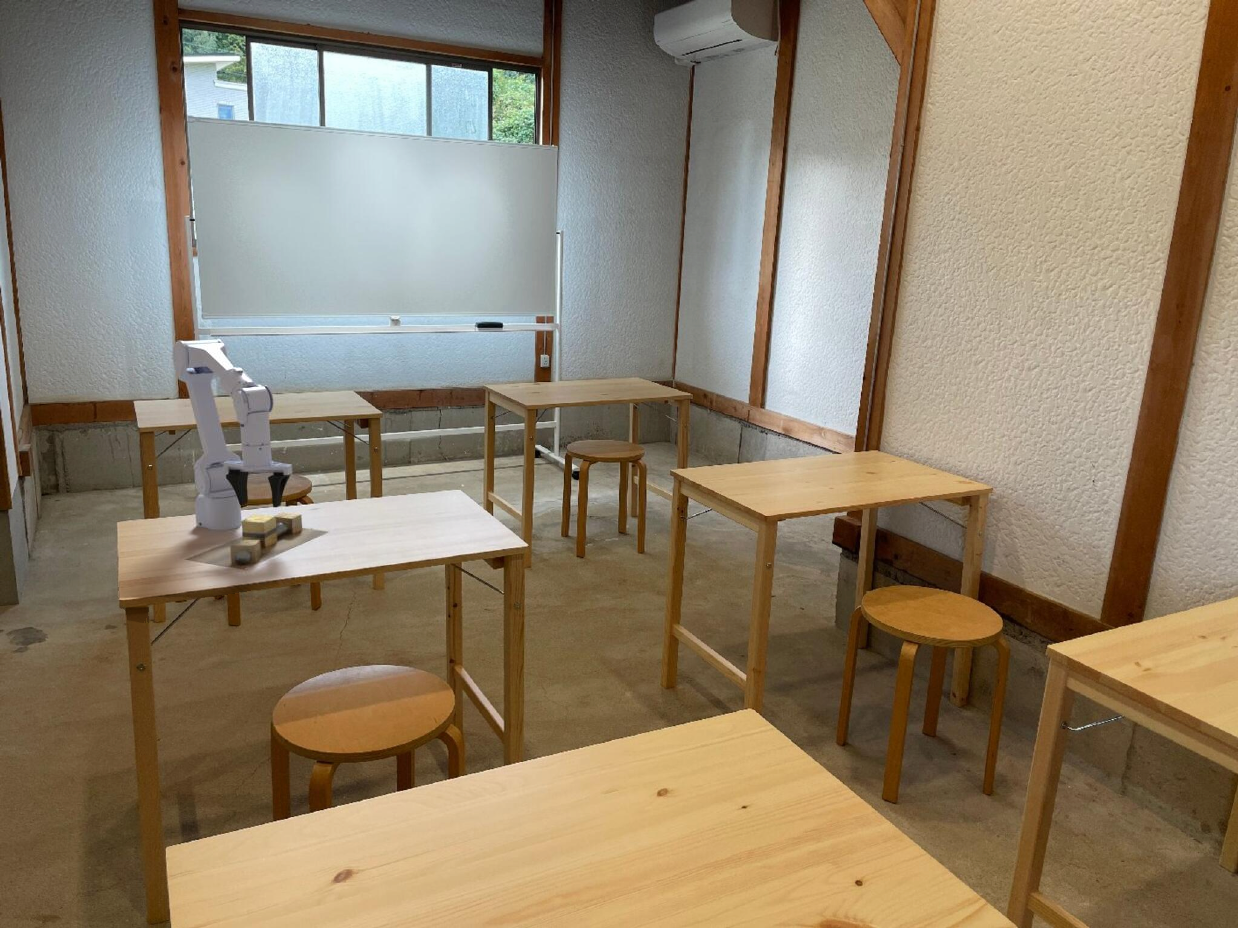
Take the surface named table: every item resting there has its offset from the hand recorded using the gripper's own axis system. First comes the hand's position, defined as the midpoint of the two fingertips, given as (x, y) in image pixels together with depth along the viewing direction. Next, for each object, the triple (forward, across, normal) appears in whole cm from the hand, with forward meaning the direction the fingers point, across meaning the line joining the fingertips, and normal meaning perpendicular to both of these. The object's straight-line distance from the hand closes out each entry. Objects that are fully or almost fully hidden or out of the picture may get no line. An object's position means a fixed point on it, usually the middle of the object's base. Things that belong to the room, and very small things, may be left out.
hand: (260, 505), depth 191 cm
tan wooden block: (+9, 0, -1) cm, 9 cm away
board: (+10, 0, -1) cm, 10 cm away
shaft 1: (+9, +2, -9) cm, 13 cm away
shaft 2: (+9, +1, +7) cm, 11 cm away
